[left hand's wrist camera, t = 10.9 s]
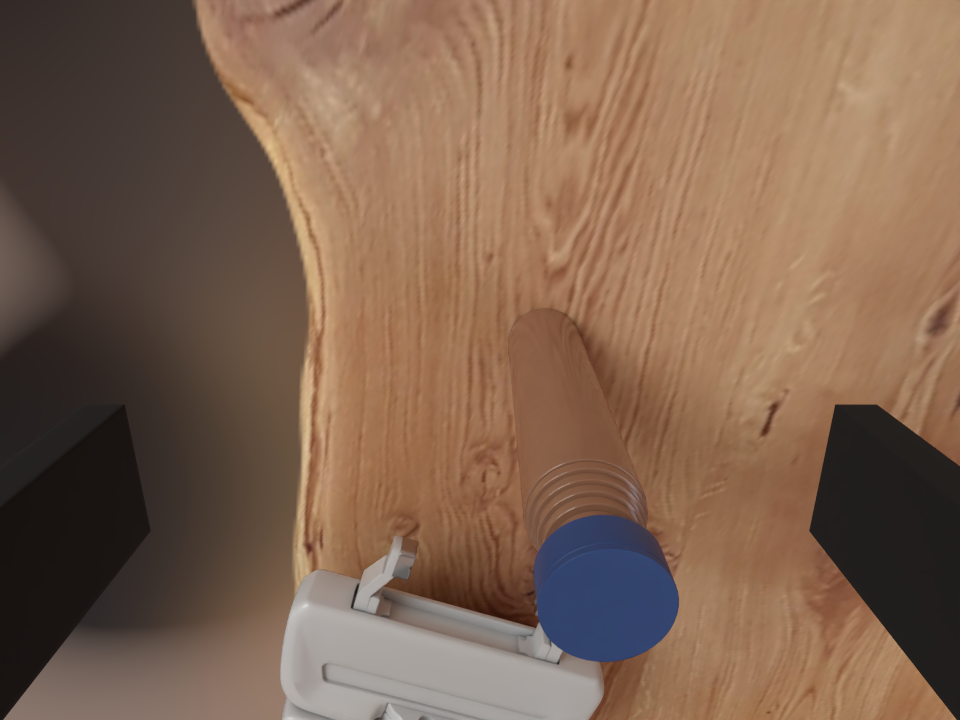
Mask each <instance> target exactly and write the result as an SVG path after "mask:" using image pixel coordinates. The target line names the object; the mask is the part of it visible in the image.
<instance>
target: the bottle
mask: <svg viewBox="0 0 960 720" xmlns="http://www.w3.org/2000/svg"><path fill="white" fill-rule="evenodd" d="M508 351H509V362H510V373H511V384H512V395H513V406H514V417H515V428H516V439H517V450H518V461H519V472H520V483H521V494H522V505H523V516H524V523H525V527H526V530H527V532H528V535H529V538H530V540H531V542H532V544H533V545H534V547H535V548H536V549H537V551H539V550H540V548H541V546H542V545H543V543H544V542H545V541H546V539H547V538H548V537H549V536H550V535H551V534H552V533H553V532H554V531H556V530H557V529H558V528H560V527H561V526H563V525H565V524H567V523H569V522H571V521H573V520H576V519H579V518H582V517H587V516H592V515H613V516H619V517H622V518H626V519H629V520H631V521H634V522H636V523H637V524H639V525H641V526H642V527H644V528H645V529H646V528H647V521H648V511H647V503H646V497H645V494H644V491H643V489H642V486H641V484H640V481H639V479H638V476H637V474H636V471H635V469H634V466H633V464H632V462H631V459H630V457H629V454H628V452H627V449H626V447H625V444H624V442H623V439H622V437H621V435H620V432H619V430H618V427H617V425H616V422H615V420H614V417H613V415H612V412H611V410H610V407H609V405H608V403H607V400H606V398H605V395H604V393H603V390H602V388H601V385H600V383H599V380H598V378H597V376H596V373H595V371H594V368H593V366H592V363H591V361H590V358H589V356H588V353H587V351H586V348H585V346H584V344H583V341H582V339H581V336H580V334H579V331H578V329H577V327H576V325H575V324H574V322H573V321H572V320H571V319H570V318H569V317H568V316H567V315H565V314H563V313H562V312H559V311H557V310H553V309H538V310H534V311H531V312H529V313H527V314H525V315H523V316H522V317H521V318H520V319H518V320H517V322H516V323H515V324H514V326H513V327H512V329H511V331H510V334H509V338H508Z"/></svg>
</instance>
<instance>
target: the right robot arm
mask: <svg viewBox="0 0 960 720" xmlns="http://www.w3.org/2000/svg"><path fill="white" fill-rule="evenodd" d="M417 546H418V541H415V540H411V539H408V538H405V537H400V536H397V535H395V537H394V539H393V542H392V545H391V548H390V551H389V554H388V555H385V556H383V557H382V558H381V559H379V560H378V561H376V562H375V563H374V564H372V565H371V566H369V567H368V568H367V569H365V570H364V572H363V575H362V578H361V580H360V579H356V578H353V577H349V576H346V575H342V574H338V573H335V572H331V571H328V570H324V569H318V570H316V571H313V572H312V573H310V574H308V575H307V576H305V577H304V578H303V579H302V581H301V583H300V586H299V588H298V590H297V593H296V596H295V598H294V601H293V604H292V607H291V610H290V614H289V617H288V621H287V625H286V630H285V635H284V640H283V647H282V654H281V665H280V681H281V686H282V689H283V692H284V693H285V695H286V700H285V703H284V708H283V712H282V717H281V720H589V719H590V717H591V716H592V714H593V713H594V711H595V710H596V708H597V707H598V705H599V704H600V702H601V700H602V698H603V695H604V679H603V673H602V668H601V664H600V662H596V661H588V660H584V659H580V658H577V657H574V656H572V655H570V654H568V653H566V652H564V651H562V650H561V649H559V648H558V647H557V646H556V645H555V644H553V643H552V642H551V641H550V639H549V638H548V637H547V636H546V634H545V633H544V631H543V629H542V627H541V625H540V622H539V623H538V625H537V627H536V628H534V627H530V626H527V625H523V624H519V623H516V622H512V621H509V620H505V619H501V618H498V617H494V616H490V615H487V614H483V613H480V612H476V611H472V610H469V609H465V608H461V607H458V606H454V605H451V604H447V603H443V602H440V601H436V600H432V599H429V598H425V597H422V596H418V595H414V594H411V593H407V592H404V591H400V590H396V589H393V588H389V587H385V586H384V585H385V584H387V583H388V582H389V581H390V580H392V579H393V578H394V577H397V578H401V579H405V580H408V577H409V575H410V572H411V567H412V566H413V564H414V561H415V558H416V553H417ZM533 602H534V604H535V607H534V612H535V616H538V612H537V602H536V592H534V594H533Z"/></svg>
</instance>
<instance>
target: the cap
mask: <svg viewBox="0 0 960 720" xmlns="http://www.w3.org/2000/svg"><path fill="white" fill-rule="evenodd" d="M534 582H535V592H536V602H537V612H538V618H539V622H540V625H541V627H542V629H543V631H544V633H545V634H546V636H547V637H548V638H549V639H550V641H551V642H552V643H553V644H555V645H556V646H557V647H558V648H559V649H561V650H562V651H564V652H566V653H568V654H570V655H572V656H574V657H577V658H580V659H584V660H588V661H596V662H612V661H619V660H624V659H628V658H632V657H634V656H637V655H639V654H642V653H643V652H645V651H647V650H649V649H650V648H652V647H653V646H655V645H656V644H657V643H658V642H660V641H661V640H662V639H663V638H664V637H665V636H666V634H667V633H668V632H669V630H670V629H671V627H672V625H673V623H674V622H675V619H676V616H677V613H678V607H679V597H678V591H677V588H676V585H675V582H674V579H673V577H672V574H671V572H670V569H669V567H668V564H667V562H666V559H665V557H664V554H663V551H662V549H661V547H660V545H659V543H658V542H657V540H656V539H655V537H654V536H653V535H652V534H651V533H650V532H649V531H648V530H646V529H645V528H644V527H642V526H641V525H639V524H637V523H636V522H634V521H631V520H629V519H626V518H622V517H619V516H613V515H592V516H587V517H582V518H579V519H576V520H573V521H571V522H569V523H567V524H565V525H563V526H561V527H560V528H558V529H557V530H556V531H554V532H553V533H552V534H551V535H550V536H549V537H548V538H547V539H546V541H545V542H544V543H543V545H542V546H541V548H540V550H539V551H538V554H537V556H536V559H535V563H534Z"/></svg>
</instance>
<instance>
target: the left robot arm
mask: <svg viewBox="0 0 960 720" xmlns="http://www.w3.org/2000/svg"><path fill="white" fill-rule="evenodd" d="M149 532H150V526H149V521H148V516H147V511H146V506H145V501H144V496H143V492H142V487H141V482H140V477H139V472H138V467H137V463H136V457H135V453H134V448H133V443H132V438H131V433H130V428H129V423H128V418H127V414H126V409H125V405H82V406H81V407H79V408H78V409H77V410H75V411H74V412H73V413H71V414H70V415H69V416H67V417H66V418H65V419H63V420H62V421H61V422H59V423H58V424H57V425H55V426H54V427H53V428H51V429H50V430H49V431H47V432H46V433H44V434H43V435H42V436H40V437H39V438H38V439H36V440H35V441H34V442H32V443H31V444H30V445H28V446H27V447H26V448H24V449H23V450H22V451H20V452H19V453H18V454H16V455H15V456H14V457H12V458H11V459H10V460H8V461H7V462H6V463H4V464H3V465H1V466H0V720H3V719H4V718H5V717H6V715H7V714H8V713H9V712H10V710H11V709H12V708H13V706H14V705H15V704H16V703H17V701H18V700H19V699H20V697H21V696H22V695H23V694H24V692H25V691H26V690H27V688H28V687H29V686H30V685H31V683H32V682H33V681H34V679H35V678H36V677H37V676H38V674H39V673H40V672H41V671H42V669H43V668H44V667H45V665H46V664H47V663H48V662H49V660H50V659H51V658H52V657H53V655H54V654H55V653H56V651H57V650H58V649H59V648H60V646H61V645H62V644H63V642H64V641H65V640H66V639H67V637H68V636H69V635H70V633H71V632H72V631H73V630H74V628H75V627H76V626H77V625H78V623H79V622H80V621H81V619H82V618H83V617H84V616H85V614H86V613H87V612H88V610H89V609H90V608H91V607H92V605H93V604H94V603H95V601H96V600H97V599H98V598H99V596H100V595H101V594H102V592H103V591H104V590H105V589H106V587H107V586H108V585H109V584H110V582H111V581H112V580H113V578H114V577H115V576H116V575H117V573H118V572H119V571H120V569H121V568H122V567H123V566H124V564H125V563H126V562H127V561H128V559H129V558H130V557H131V555H132V554H133V553H134V552H135V550H136V549H137V548H138V546H139V545H140V544H141V542H142V541H143V540H144V539H145V537H146V536H147V535H148V534H149ZM810 532H811V534H812V535H813V536H814V537H815V539H816V540H817V541H818V543H819V544H820V545H821V546H822V548H823V549H824V550H825V552H826V553H827V554H828V555H829V557H830V558H831V559H832V561H833V562H834V563H835V564H836V566H837V567H838V568H839V569H840V571H841V572H842V573H843V575H844V576H845V577H846V578H847V580H848V581H849V582H850V584H851V585H852V586H853V587H854V589H855V590H856V591H857V593H858V594H859V595H860V596H861V598H862V599H863V600H864V601H865V603H866V604H867V605H868V607H869V608H870V609H871V610H872V612H873V613H874V614H875V616H876V617H877V618H878V619H879V621H880V622H881V623H882V625H883V626H884V627H885V628H886V630H887V631H888V632H889V633H890V635H891V636H892V637H893V639H894V640H895V641H896V642H897V644H898V645H899V646H900V648H901V649H902V650H903V651H904V653H905V654H906V655H907V657H908V658H909V659H910V660H911V662H912V663H913V664H914V665H915V667H916V668H917V669H918V671H919V672H920V673H921V674H922V676H923V677H924V678H925V680H926V681H927V682H928V683H929V685H930V686H931V687H932V689H933V690H934V691H935V692H936V694H937V695H938V696H939V697H940V699H941V700H942V701H943V703H944V704H945V705H946V706H947V708H948V709H949V710H950V712H951V713H952V714H953V715H954V717H955V718H956V719H957V720H960V466H959V465H957V464H956V463H954V462H953V461H952V460H950V459H949V458H948V457H946V456H945V455H944V454H942V453H941V452H940V451H938V450H937V449H936V448H934V447H933V446H932V445H930V444H929V443H928V442H926V441H925V440H924V439H922V438H921V437H920V436H918V435H917V434H916V433H914V432H913V431H911V430H910V429H909V428H907V427H906V426H905V425H903V424H902V423H901V422H899V421H898V420H897V419H895V418H894V417H893V416H891V415H890V414H889V413H887V412H886V411H885V410H883V409H882V408H881V407H879V406H878V405H835V409H834V414H833V418H832V423H831V428H830V433H829V438H828V443H827V448H826V453H825V457H824V462H823V467H822V472H821V477H820V482H819V487H818V492H817V496H816V501H815V506H814V511H813V516H812V521H811V526H810Z"/></svg>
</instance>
